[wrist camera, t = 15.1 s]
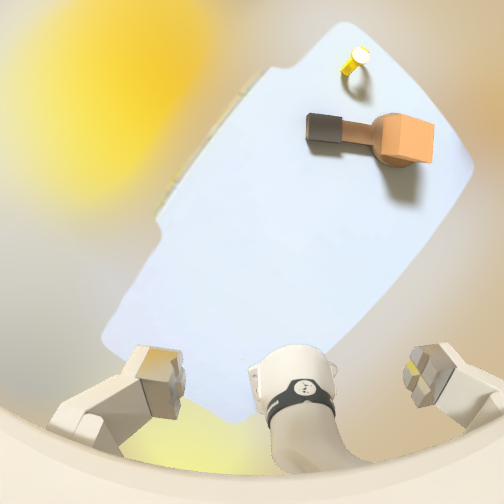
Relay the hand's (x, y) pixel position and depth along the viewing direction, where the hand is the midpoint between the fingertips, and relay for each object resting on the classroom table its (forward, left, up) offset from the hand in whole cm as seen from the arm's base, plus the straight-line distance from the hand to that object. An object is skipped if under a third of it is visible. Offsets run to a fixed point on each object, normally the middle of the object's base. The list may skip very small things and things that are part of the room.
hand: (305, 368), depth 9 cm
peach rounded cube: (+12, -21, -35) cm, 42 cm away
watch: (+24, -13, -37) cm, 46 cm away
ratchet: (+12, -16, -37) cm, 42 cm away
